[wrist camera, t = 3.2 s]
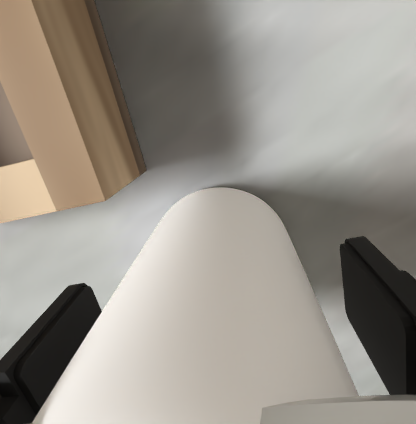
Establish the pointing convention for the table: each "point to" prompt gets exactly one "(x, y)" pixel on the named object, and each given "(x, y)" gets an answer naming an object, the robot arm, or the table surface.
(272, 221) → the can
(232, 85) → the table surface
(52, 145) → the socket block
